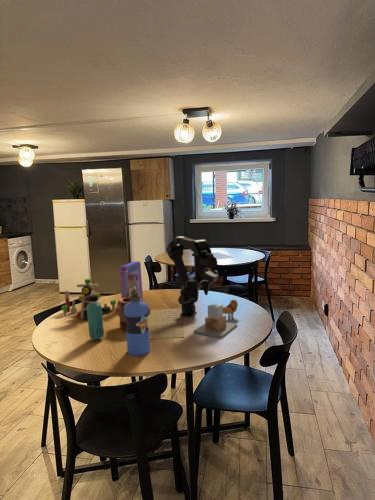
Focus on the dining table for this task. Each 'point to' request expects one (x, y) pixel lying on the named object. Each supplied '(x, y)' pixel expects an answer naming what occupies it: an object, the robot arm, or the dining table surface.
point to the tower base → (216, 333)
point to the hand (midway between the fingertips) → (201, 297)
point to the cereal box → (130, 279)
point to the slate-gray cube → (215, 310)
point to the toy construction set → (85, 300)
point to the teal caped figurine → (95, 318)
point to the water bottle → (137, 325)
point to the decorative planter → (120, 311)
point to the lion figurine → (230, 308)
